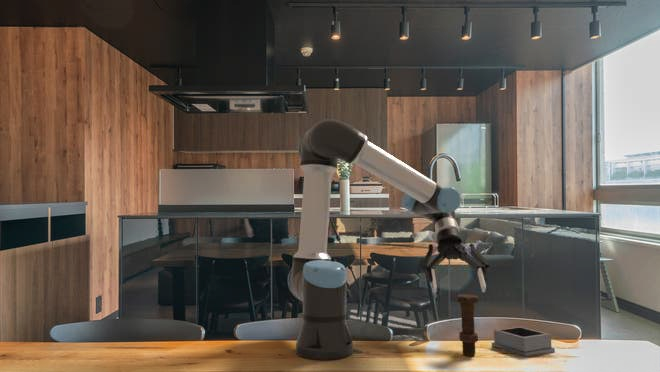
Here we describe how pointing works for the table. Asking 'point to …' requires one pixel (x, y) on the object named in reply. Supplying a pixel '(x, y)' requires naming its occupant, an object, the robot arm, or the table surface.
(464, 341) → the brown flared column
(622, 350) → the table surface
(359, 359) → the table surface
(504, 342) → the rectangular open box
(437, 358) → the table surface
